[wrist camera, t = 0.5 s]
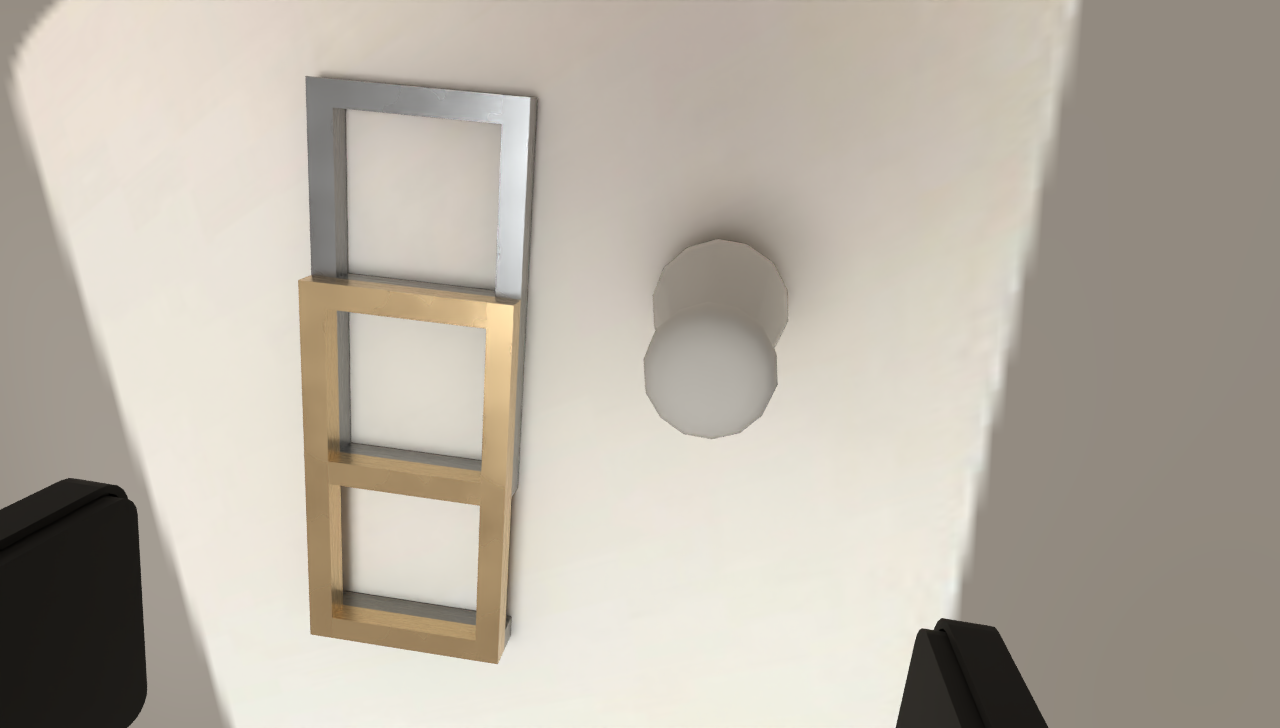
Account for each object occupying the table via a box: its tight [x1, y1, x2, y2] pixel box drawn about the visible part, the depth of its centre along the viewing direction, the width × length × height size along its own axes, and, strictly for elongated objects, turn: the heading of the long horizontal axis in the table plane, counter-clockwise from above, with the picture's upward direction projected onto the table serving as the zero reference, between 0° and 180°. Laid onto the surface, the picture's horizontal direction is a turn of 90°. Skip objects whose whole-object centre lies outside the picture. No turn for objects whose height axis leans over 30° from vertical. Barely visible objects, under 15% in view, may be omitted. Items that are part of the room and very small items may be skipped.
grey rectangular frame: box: [306, 76, 537, 498], centre depth 39 cm, size 19×10×1 cm, turn 175°
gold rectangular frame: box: [298, 275, 521, 664], centre depth 41 cm, size 19×10×2 cm, turn 175°
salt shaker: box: [644, 239, 788, 439], centre depth 32 cm, size 6×6×13 cm
